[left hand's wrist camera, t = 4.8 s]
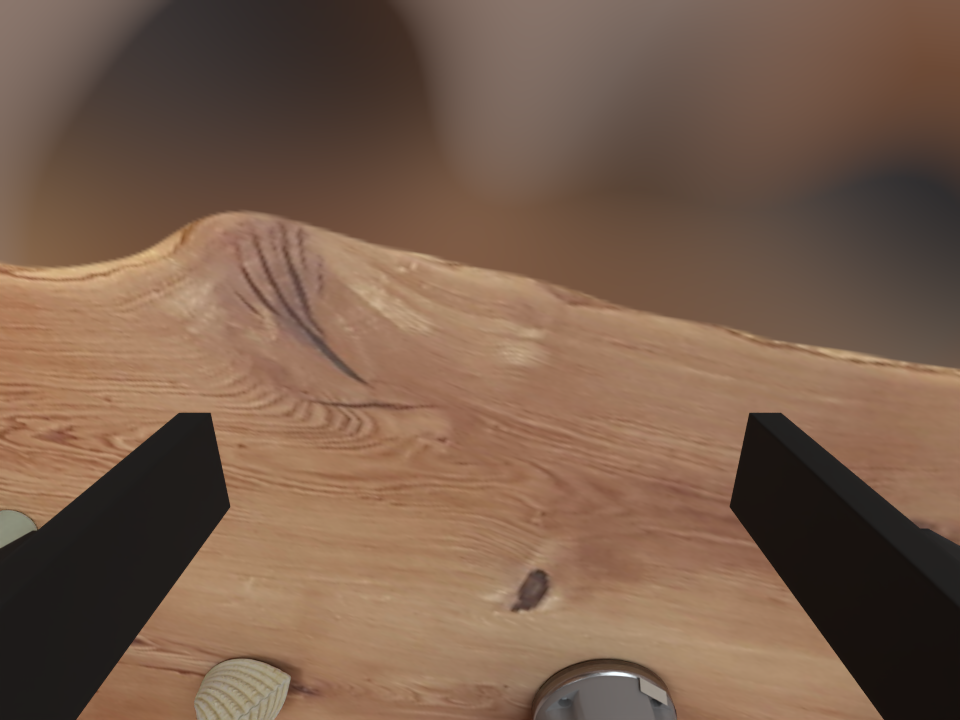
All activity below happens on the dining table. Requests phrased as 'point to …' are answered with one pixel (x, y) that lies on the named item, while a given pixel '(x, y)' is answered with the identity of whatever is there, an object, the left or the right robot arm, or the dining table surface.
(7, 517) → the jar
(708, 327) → the dining table surface
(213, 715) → the seashell
